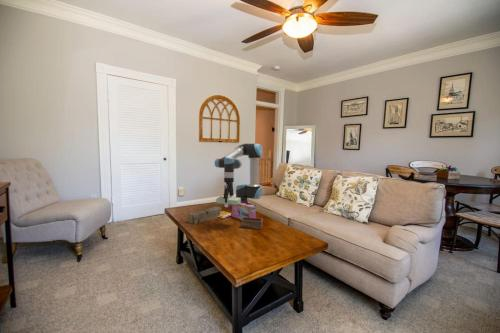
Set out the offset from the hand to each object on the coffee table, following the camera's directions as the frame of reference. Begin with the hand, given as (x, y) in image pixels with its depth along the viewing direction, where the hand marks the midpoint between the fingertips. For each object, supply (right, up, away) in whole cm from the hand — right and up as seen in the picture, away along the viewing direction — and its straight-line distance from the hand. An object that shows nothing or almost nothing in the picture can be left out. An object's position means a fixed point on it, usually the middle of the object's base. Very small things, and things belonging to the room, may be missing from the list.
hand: (228, 205), depth 177 cm
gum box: (+11, -15, +17) cm, 25 cm away
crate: (+18, -16, -3) cm, 25 cm away
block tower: (-21, -14, +14) cm, 29 cm away
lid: (0, +2, 0) cm, 2 cm away
